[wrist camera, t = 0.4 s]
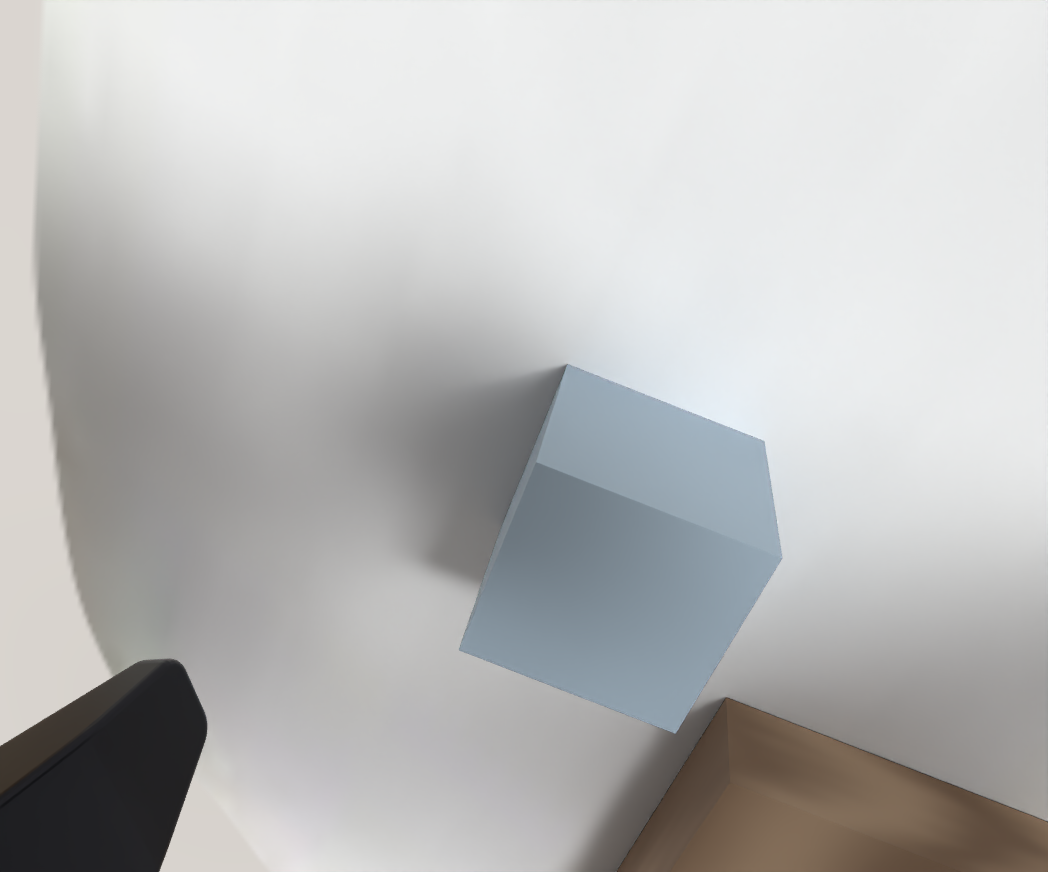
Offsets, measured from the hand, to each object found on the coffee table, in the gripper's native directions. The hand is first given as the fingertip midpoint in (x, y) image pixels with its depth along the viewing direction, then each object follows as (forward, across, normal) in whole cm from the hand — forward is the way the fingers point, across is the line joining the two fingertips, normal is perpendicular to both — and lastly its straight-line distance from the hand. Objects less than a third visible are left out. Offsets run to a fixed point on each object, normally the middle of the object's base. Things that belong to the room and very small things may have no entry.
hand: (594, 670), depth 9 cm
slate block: (+13, +1, +5) cm, 14 cm away
